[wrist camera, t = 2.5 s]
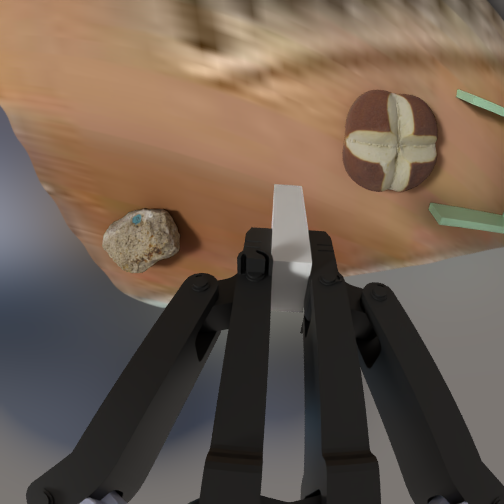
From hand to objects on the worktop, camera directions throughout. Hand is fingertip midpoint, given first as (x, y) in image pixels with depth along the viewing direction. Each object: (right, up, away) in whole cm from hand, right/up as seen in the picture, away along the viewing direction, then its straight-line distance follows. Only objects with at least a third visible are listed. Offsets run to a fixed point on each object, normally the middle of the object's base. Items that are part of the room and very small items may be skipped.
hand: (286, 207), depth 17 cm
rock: (-16, 0, +23) cm, 28 cm away
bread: (+13, +10, +13) cm, 21 cm away
